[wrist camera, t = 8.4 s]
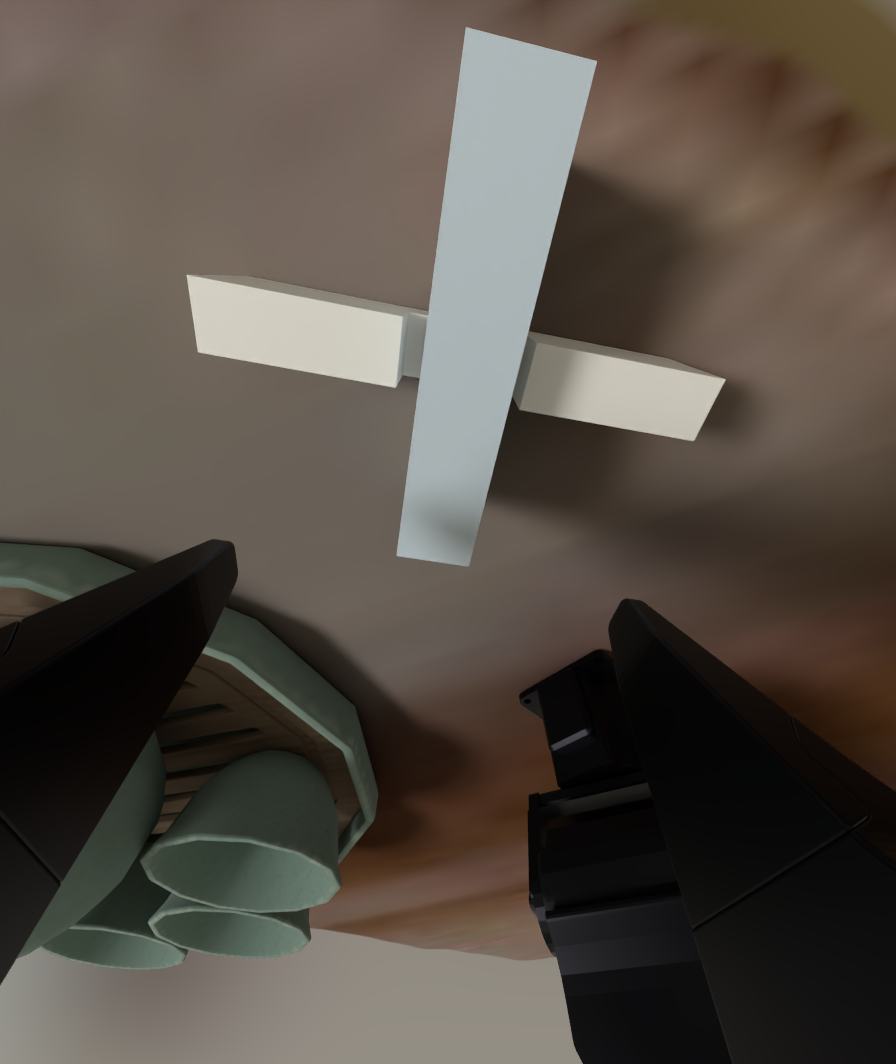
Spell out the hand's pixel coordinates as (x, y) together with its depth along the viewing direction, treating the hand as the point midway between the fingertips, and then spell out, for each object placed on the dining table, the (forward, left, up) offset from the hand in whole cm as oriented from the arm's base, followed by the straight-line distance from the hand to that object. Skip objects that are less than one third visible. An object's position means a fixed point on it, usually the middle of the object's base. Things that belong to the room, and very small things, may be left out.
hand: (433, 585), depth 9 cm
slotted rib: (+2, -3, -10) cm, 11 cm away
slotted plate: (+2, -3, -10) cm, 11 cm away
